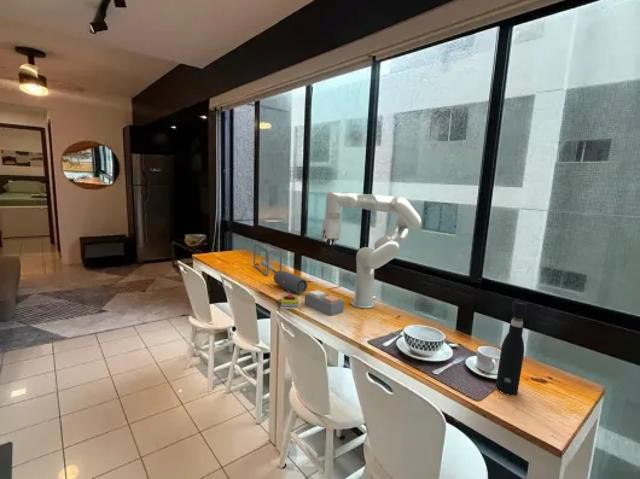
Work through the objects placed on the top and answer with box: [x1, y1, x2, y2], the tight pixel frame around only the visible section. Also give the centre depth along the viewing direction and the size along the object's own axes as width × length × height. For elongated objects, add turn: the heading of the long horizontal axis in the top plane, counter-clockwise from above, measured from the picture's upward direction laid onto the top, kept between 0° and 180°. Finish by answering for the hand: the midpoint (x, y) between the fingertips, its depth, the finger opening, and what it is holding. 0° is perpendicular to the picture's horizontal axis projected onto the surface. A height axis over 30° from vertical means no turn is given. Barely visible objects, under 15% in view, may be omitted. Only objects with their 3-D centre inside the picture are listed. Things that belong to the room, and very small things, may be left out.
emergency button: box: [280, 294, 300, 310], centre depth 182 cm, size 9×4×15 cm
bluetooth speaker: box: [273, 270, 308, 294], centre depth 205 cm, size 23×9×10 cm, turn 42°
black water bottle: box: [495, 300, 528, 396], centre depth 111 cm, size 6×6×30 cm
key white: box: [309, 289, 326, 298], centre depth 181 cm, size 6×6×5 cm
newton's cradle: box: [253, 243, 283, 277], centre depth 246 cm, size 30×10×18 cm, turn 28°
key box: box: [304, 292, 345, 317], centre depth 178 cm, size 9×19×6 cm, turn 44°
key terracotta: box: [323, 294, 341, 303], centre depth 174 cm, size 6×6×5 cm
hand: (330, 251), depth 178 cm, fingers closed
